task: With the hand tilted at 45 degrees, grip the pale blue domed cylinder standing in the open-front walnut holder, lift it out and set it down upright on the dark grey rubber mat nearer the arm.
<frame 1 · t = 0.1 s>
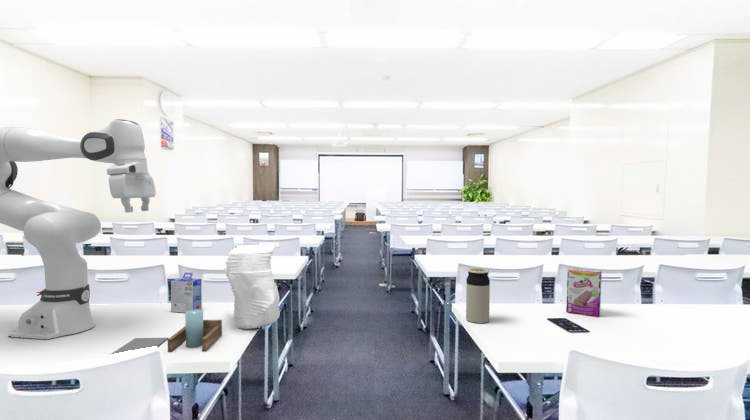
hand: (137, 211, 132), 39 cm above the table, tool pointing down, fingers open, 8 cm apart
travel mug: (477, 320, 143), on the table
smartphone: (567, 326, 138), on the table
holder: (194, 344, 120), on the table
candy bar box: (583, 314, 151), on the table
white crumpled mass: (250, 323, 140), on the table
pale blue domed cylinder: (194, 344, 120), resting in holder
ink cartridge box: (186, 311, 154), on the table
mat: (139, 347, 117), on the table
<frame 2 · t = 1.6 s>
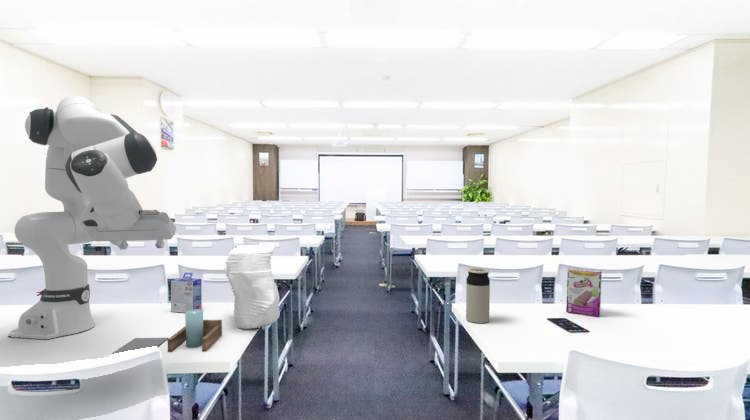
hand: (143, 247, 107), 31 cm above the table, tool tilted 45°, fingers open, 8 cm apart
nothing on the table moved.
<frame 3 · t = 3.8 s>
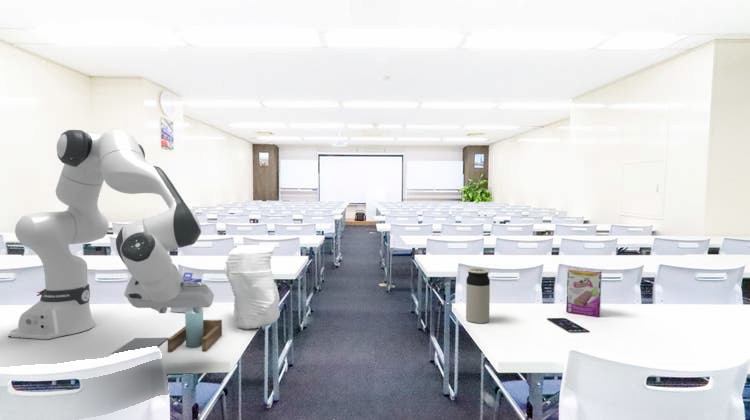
hand: (181, 310, 111), 13 cm above the table, tool tilted 45°, fingers open, 8 cm apart
nothing on the table moved.
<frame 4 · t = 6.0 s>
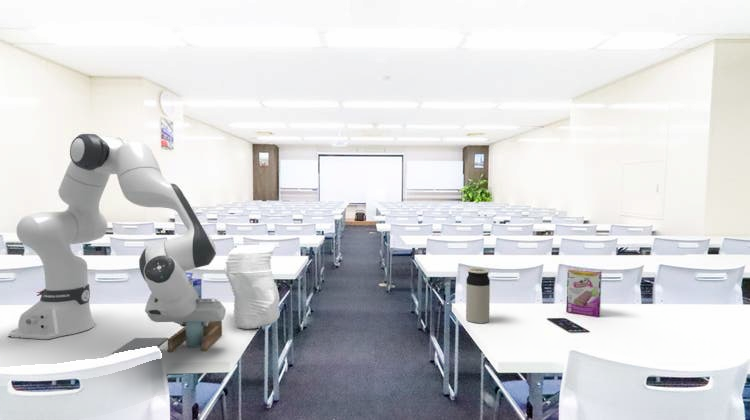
hand: (195, 324, 120), 6 cm above the table, tool tilted 45°, fingers closed on pale blue domed cylinder, 5 cm apart
pale blue domed cylinder: (194, 344, 120), resting in holder, touching gripper
everything else where it was.
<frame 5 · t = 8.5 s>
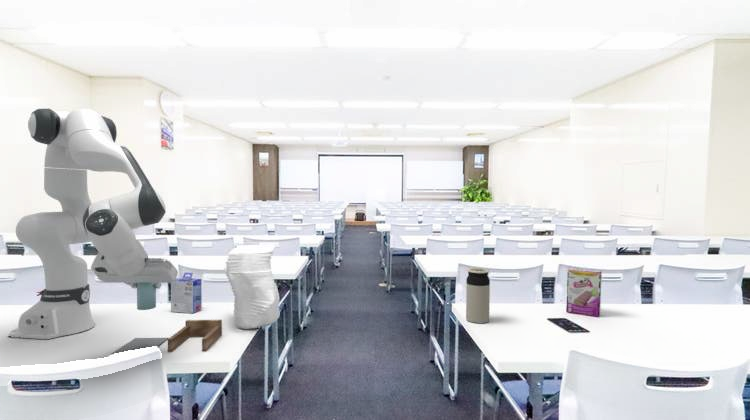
hand: (147, 286, 118), 18 cm above the table, tool tilted 45°, fingers closed on pale blue domed cylinder, 5 cm apart
pale blue domed cylinder: (146, 307, 117), point 12 cm above the table, touching gripper
everything else where it was.
when the fingers open (7 cm above the table, at t = 11.3 s): pale blue domed cylinder stays where it is, resting on mat.
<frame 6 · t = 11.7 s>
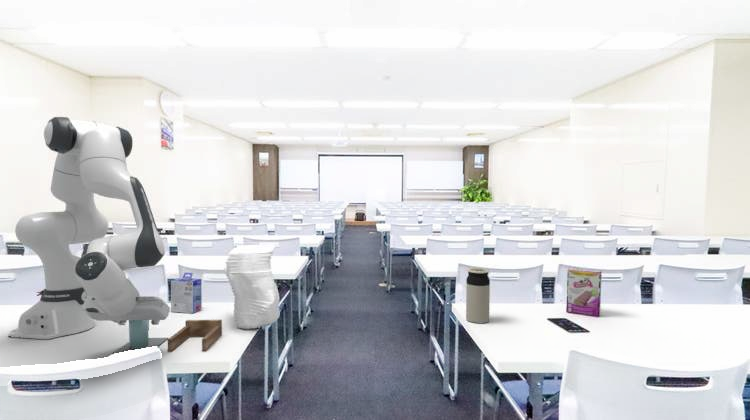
hand: (140, 322, 117), 7 cm above the table, tool tilted 45°, fingers open, 8 cm apart
pale blue domed cylinder: (139, 346, 117), resting on mat
everything else where it was.
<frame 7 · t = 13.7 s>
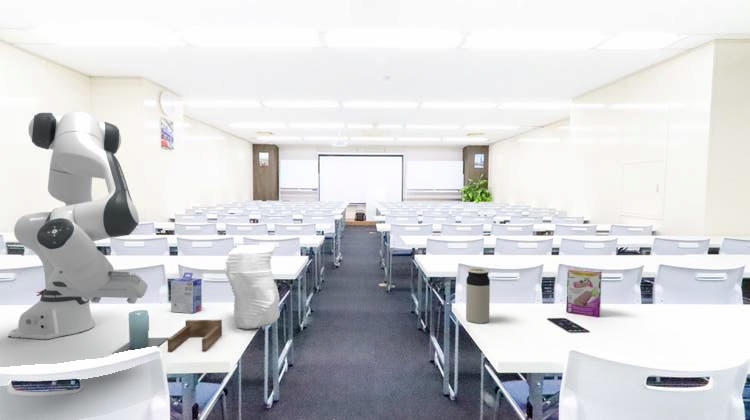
hand: (115, 300, 107), 16 cm above the table, tool tilted 45°, fingers open, 8 cm apart
nothing on the table moved.
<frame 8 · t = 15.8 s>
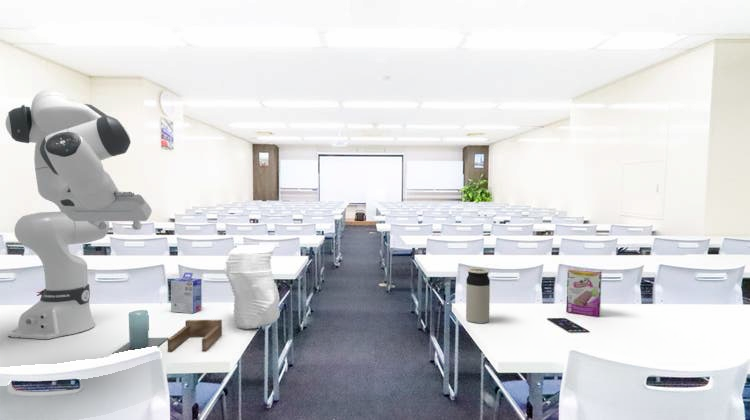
hand: (120, 227, 111), 35 cm above the table, tool tilted 45°, fingers open, 8 cm apart
nothing on the table moved.
at the end: pale blue domed cylinder inside the target area on the mat (0.1 cm from its centre), point 0.4 cm above the mat's base; pale blue domed cylinder tilted 0°; pale blue domed cylinder moved 15.2 cm from its start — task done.
